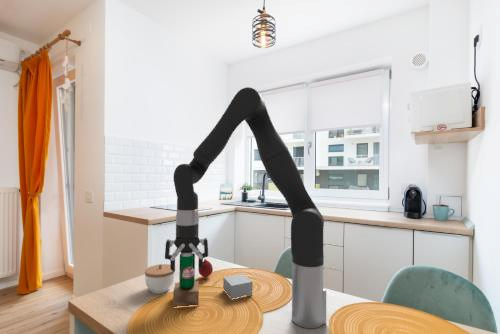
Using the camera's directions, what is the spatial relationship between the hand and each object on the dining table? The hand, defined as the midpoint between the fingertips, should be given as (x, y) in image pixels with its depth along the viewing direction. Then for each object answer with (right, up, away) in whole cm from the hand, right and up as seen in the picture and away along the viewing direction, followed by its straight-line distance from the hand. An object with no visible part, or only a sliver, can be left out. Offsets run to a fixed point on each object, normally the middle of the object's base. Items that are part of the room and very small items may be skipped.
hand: (186, 270), depth 90 cm
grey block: (+17, -11, +6) cm, 21 cm away
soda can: (0, -6, 0) cm, 6 cm away
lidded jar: (-12, -11, +9) cm, 18 cm away
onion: (+3, -11, +20) cm, 23 cm away
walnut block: (0, -11, 0) cm, 11 cm away
